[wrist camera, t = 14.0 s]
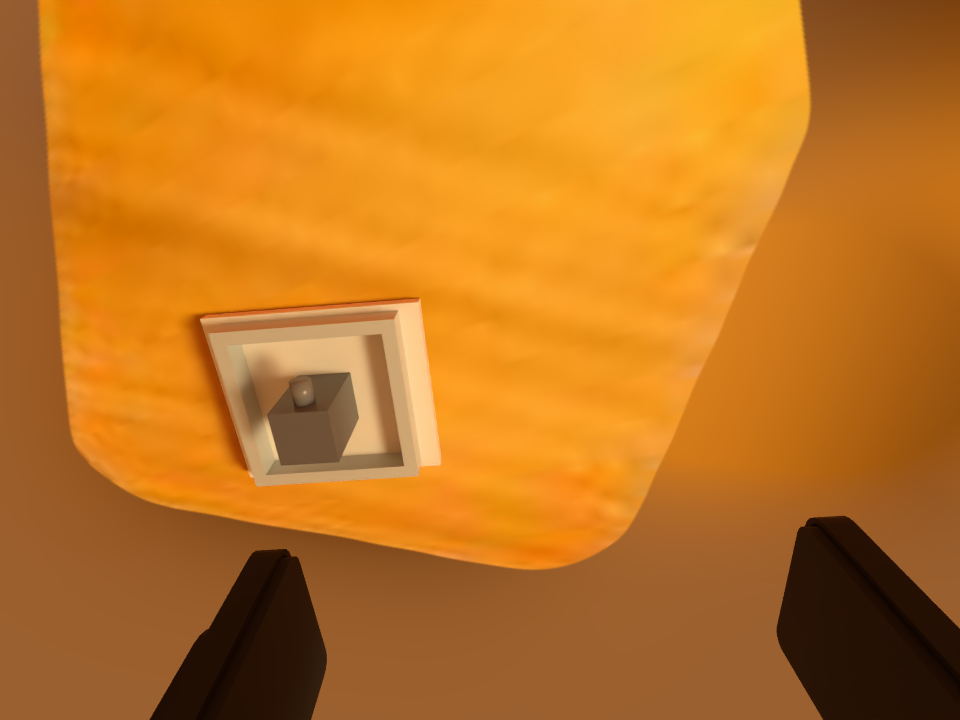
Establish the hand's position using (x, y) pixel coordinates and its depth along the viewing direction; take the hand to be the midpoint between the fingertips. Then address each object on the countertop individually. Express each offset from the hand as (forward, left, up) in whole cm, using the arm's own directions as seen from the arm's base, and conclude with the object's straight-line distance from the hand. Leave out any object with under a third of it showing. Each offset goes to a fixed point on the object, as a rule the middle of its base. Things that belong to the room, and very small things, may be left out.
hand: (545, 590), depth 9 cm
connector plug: (+9, -14, -27) cm, 32 cm away
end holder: (+9, -14, -28) cm, 33 cm away
